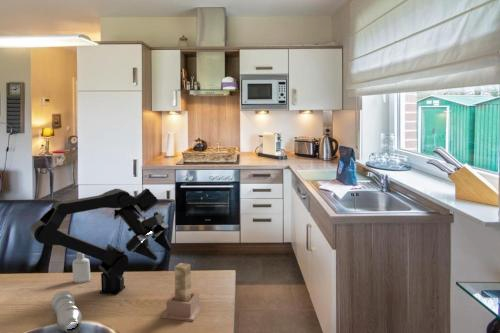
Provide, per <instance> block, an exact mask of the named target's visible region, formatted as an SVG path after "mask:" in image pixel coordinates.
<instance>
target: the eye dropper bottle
mask: <svg viewBox="0 0 500 333" xmlns="http://www.w3.org/2000/svg"><path fill="white" fill-rule="evenodd" d="M90 280H91V266H90V259H89V258H86V257H85V254H83V253H80V252H77V251H76V258H75V259H74V260H73V261H72V282H73V283H78V284H79V283H80V284H81V283H82V284H83V283H87V282H89V281H90Z"/></svg>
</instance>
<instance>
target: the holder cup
mask: <svg viewBox="0 0 500 333" xmlns="http://www.w3.org/2000/svg"><path fill="white" fill-rule="evenodd" d="M204 306H205V303H201V302H200V293H199V292H192V291H191V300H190V301H189V302H182V301H175V292H174V293H173V294H172V295H171V296H170V297H169V298H168V299H167V300H166V310H165V311H164V312H163V313H162V314H161V316H160V318H162V319H171V320H179V321H187V322H188V321H189V322H194V321H195V320H196V318H197V316H198V315H199V314H200V312H201V311H202V309H203V308H204Z"/></svg>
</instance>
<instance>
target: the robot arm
mask: <svg viewBox="0 0 500 333" xmlns="http://www.w3.org/2000/svg"><path fill="white" fill-rule="evenodd" d="M156 205H159V200H158V198H157V196H156V195H154V193H153V192H151V191H150V189H149V188H144V189H143V190H142V191H141V192H140V193H138V194H137V195H135V196H134V195H131V194H130V193H129V192H128V191H127V190H123V189H121V188H113V189H110V190H107V191H105V192H104V193H102V194H99V195H93V196H87V197H82V198H75V199H70V200H65V201H64V200H63V201H62V200H60V201H56V202H55V203H54V204H53V205H52V207H51V208H50V209H49V210H47V211H46V212H45V213H44V214H43V215H42V216H41V217H40V218H39V219H38V220H37V221H34V222H33V223H32V224H31V226H30V228H29V233H30V235H31V236H32V238H34V240H35V241H36V242H37V243H39V244H43V245H50V246H59V247H61V246H62V247H64V248H67V249H70V250H71V251H75V252H76V253H77V252H80V253H83V254H84V256H85V255H86V256H88V257H91V258H93V259H97V260H99V261H101V263H100V264H99V265H98V268H99V270H100V272H102V273H101V274H100V280H101V281H100V282H101V289H100V290H99V292H98V293H99V294H102V295H103V294H104V295H114V296H117V295H118V294H119V293H120V292H122V291H123V290H124V289H125V288H126V285H125V277H124V276H123V275H124V273H125V270H126V268H127V266H128V264H129V257H128V255H127V254H125V253H126V251H124V250H122V249H121V248H119V247H118V246H113V245H111V244H109V243H108V244H107V246H106V247H105V246H104V247H102V246H100V245H97V244H95V243H92V242H89V241H87V240H84V239H82V238H79V237H76V236H74V235H71V234H69V233H66V232H63V231H62V230H60V229H59V228H60V226H62V223H63V221H64V220H65V218H66V217H67V215H72V214H76V213H77V214H78V213H83V212H87V211H93V210H94V211H95V210H98V209H105V208H106V209H114V211H113V212H114V213H113V219H114V220H117V219H118V218H119V217H120V218H121V219H122V220H123V221H124V223H125V224H126V225H127V226H128V227H129V228H127V230H128V231H129V232H133V234H134V235H133V236H132V237H131V238H130V239H129V240H128V241H127V242H126V243H125V249H126V250H127V252H129V253H131V252H132V253H136V254H138V255H141V256H143V257H146V258H149V259H151V260H153V261H157V260H158V256H157V254H156V253H155V252H154V251H153V249H152V247H151V246H150V245H149V238H152V239H153V241H154V242H155V243H157V244H158V245H159V246H160V247H163V248H164V250H166V251H168V252H171V251H172V250H173V249H172V246H171V244H170V241H169V238H168V235H167V233H168V230H169V224H167V222H165V220H164V219H165V214H164V213H163V212H162V211H160V210H158V211H155V212H154V213H153V216H151V217H148V216H147V215H143V214H141V213H142V212H143V213H147V212H148V211H149V210H151V209H153V208H154V207H155V206H156Z"/></svg>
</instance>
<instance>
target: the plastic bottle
mask: <svg viewBox="0 0 500 333" xmlns="http://www.w3.org/2000/svg"><path fill="white" fill-rule="evenodd" d="M50 303H51V304H50V307H51V310H52V311H53V313H54V314H55V315H56V326H57V327H58V329H59V330H60V331H63V332H66V333H79V330H80V329H81V322H82V319H83V315H82V312H81V310H80V309H79V308H78V307H77V306H76V300H75V296H74V294H73V293H72V292H71V291H68V290H61V291H58V292H57V293H55V294H54V295H53V297H52V299H51V302H50ZM71 322H78V324H77V326H76V327H75V328H72V329H67V326H68V325H69V324H70V323H71Z"/></svg>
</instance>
